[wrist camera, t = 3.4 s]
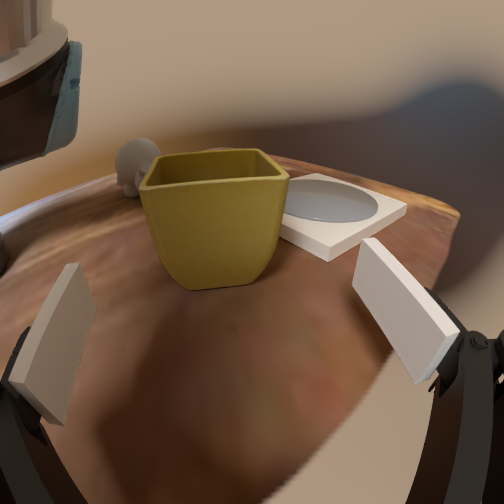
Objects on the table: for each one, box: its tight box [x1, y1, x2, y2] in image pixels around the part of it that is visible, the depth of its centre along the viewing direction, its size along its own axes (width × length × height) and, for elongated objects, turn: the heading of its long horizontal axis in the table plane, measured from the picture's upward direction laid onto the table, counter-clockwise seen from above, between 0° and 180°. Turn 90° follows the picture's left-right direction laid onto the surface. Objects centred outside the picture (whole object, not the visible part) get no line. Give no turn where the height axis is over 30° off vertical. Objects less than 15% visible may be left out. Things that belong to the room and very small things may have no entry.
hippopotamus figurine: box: [115, 138, 162, 198], centre depth 37 cm, size 7×12×8 cm, turn 37°
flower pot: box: [138, 149, 290, 290], centre depth 21 cm, size 9×9×9 cm
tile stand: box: [279, 173, 407, 262], centre depth 34 cm, size 16×18×2 cm
